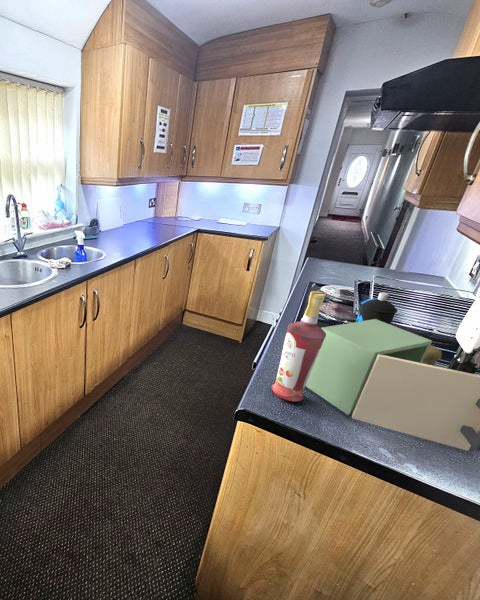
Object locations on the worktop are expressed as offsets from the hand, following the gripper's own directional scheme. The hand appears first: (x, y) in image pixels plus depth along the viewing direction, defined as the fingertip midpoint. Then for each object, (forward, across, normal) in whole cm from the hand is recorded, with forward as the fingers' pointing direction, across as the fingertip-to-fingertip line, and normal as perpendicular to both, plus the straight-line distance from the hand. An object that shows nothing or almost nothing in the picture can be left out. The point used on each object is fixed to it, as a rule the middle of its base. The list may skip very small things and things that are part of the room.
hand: (455, 379), depth 66 cm
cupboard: (+14, +7, +13) cm, 20 cm away
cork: (+14, +24, 0) cm, 27 cm away
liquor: (+15, -6, +26) cm, 30 cm away
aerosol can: (+14, +34, +11) cm, 38 cm away
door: (+14, -6, +3) cm, 15 cm away
